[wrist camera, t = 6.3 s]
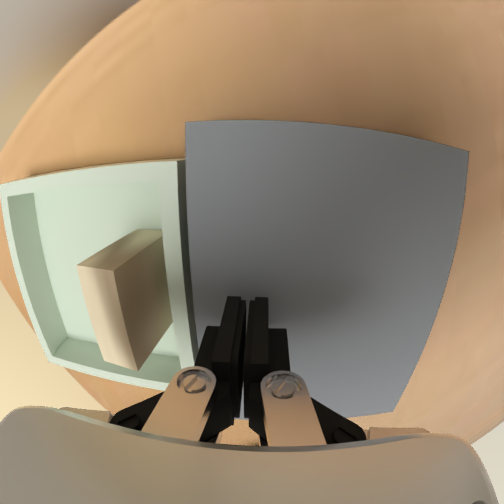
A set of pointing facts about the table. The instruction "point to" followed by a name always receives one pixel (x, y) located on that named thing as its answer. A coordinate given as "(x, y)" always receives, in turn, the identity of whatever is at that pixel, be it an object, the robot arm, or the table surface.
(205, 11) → the table surface
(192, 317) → the box
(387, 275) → the plate
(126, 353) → the block
